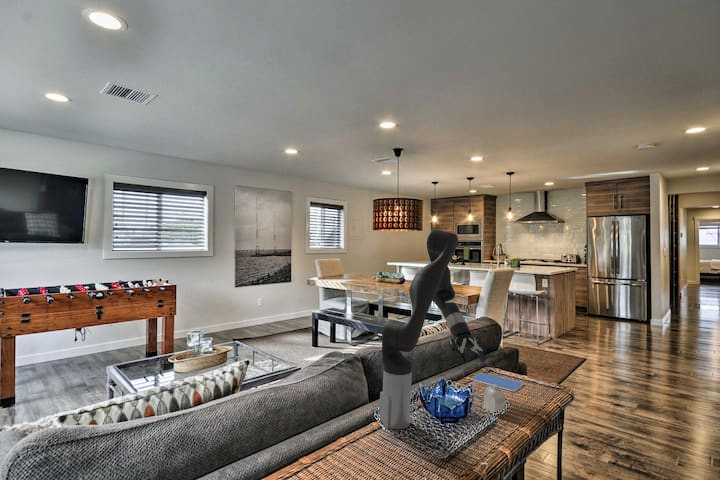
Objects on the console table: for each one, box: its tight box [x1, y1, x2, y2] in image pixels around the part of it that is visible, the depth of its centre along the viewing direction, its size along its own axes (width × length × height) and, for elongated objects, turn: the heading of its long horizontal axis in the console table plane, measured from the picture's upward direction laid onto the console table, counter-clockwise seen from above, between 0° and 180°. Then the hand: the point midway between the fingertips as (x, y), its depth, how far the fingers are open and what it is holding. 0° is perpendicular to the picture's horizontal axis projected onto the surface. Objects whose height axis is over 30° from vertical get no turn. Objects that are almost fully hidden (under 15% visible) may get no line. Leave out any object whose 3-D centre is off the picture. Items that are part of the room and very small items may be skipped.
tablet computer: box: [470, 372, 525, 393], centre depth 165 cm, size 19×13×1 cm, turn 48°
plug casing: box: [483, 384, 506, 412], centre depth 136 cm, size 4×6×9 cm
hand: (475, 362), depth 146 cm, fingers open, 8 cm apart
